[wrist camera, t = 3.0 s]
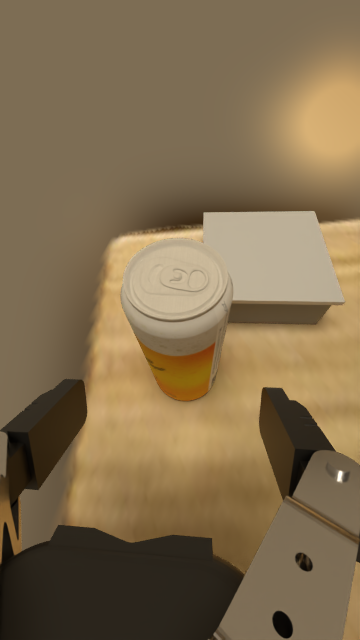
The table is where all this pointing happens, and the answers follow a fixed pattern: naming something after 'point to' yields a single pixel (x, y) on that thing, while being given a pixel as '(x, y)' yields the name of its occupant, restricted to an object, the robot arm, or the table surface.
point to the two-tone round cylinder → (179, 312)
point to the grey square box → (274, 265)
